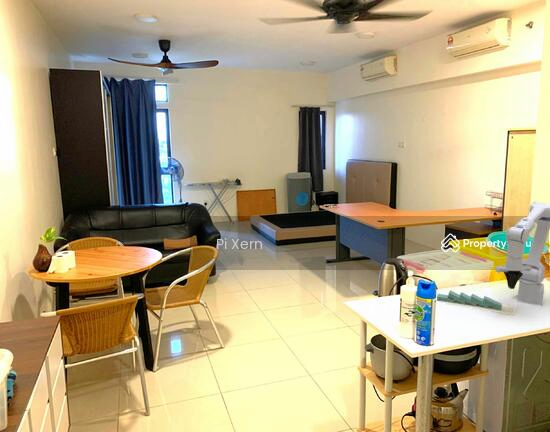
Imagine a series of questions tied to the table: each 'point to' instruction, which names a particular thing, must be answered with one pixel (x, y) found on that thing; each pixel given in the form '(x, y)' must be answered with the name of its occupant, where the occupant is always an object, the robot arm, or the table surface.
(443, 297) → the tile
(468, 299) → the teal rectangular block
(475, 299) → the tile
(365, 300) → the table surface
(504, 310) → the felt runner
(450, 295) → the muted teal oblong block
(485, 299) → the teal green rectangular block
